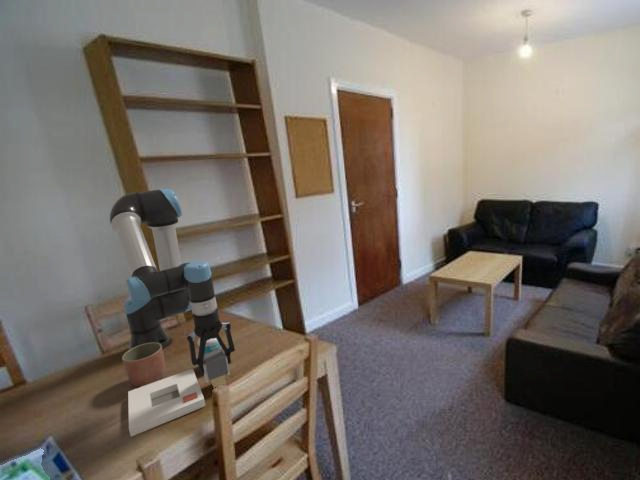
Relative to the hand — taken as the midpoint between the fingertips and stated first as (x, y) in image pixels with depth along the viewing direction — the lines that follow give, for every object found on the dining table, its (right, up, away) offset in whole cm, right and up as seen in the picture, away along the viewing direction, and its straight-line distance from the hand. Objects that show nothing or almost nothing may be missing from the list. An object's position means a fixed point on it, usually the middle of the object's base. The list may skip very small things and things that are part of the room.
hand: (217, 376), depth 112 cm
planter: (-27, -5, +8) cm, 28 cm away
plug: (0, -2, +1) cm, 2 cm away
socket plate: (-14, -6, -5) cm, 16 cm away
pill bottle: (-6, -1, +13) cm, 14 cm away
